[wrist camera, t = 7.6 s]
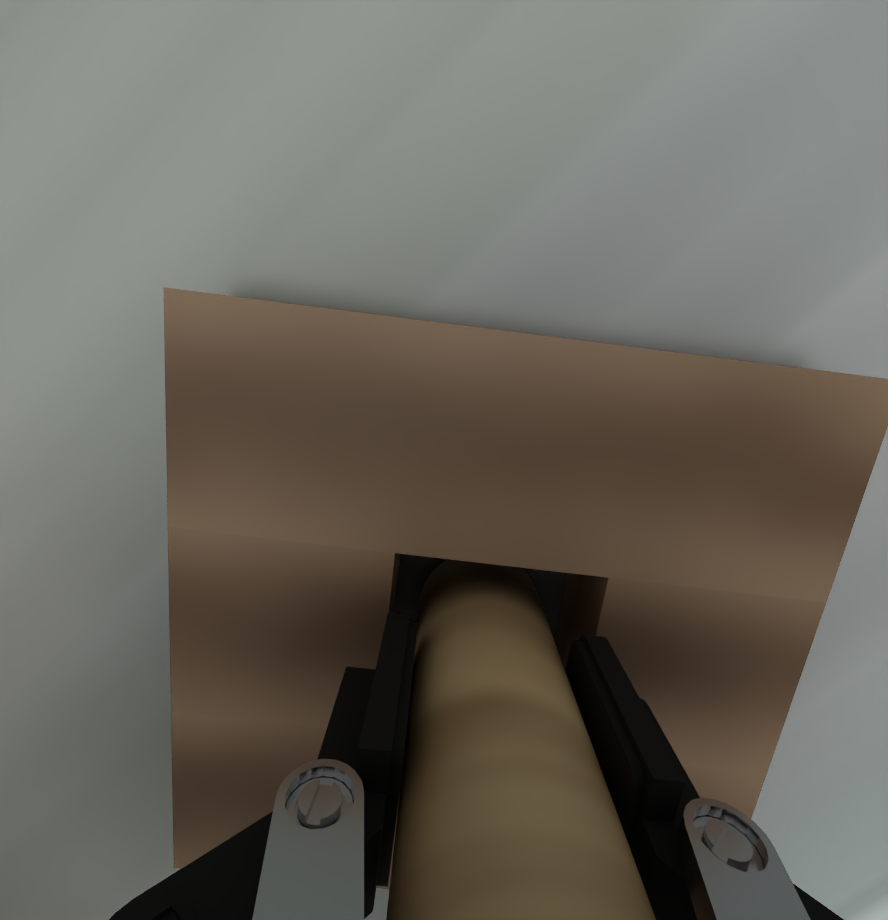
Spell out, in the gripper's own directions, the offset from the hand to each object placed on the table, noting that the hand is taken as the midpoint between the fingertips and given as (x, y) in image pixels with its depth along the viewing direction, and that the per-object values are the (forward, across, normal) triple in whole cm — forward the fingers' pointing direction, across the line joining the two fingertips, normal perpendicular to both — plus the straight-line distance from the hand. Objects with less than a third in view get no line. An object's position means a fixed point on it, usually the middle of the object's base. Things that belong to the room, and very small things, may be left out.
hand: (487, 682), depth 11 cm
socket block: (+4, 0, 0) cm, 4 cm away
